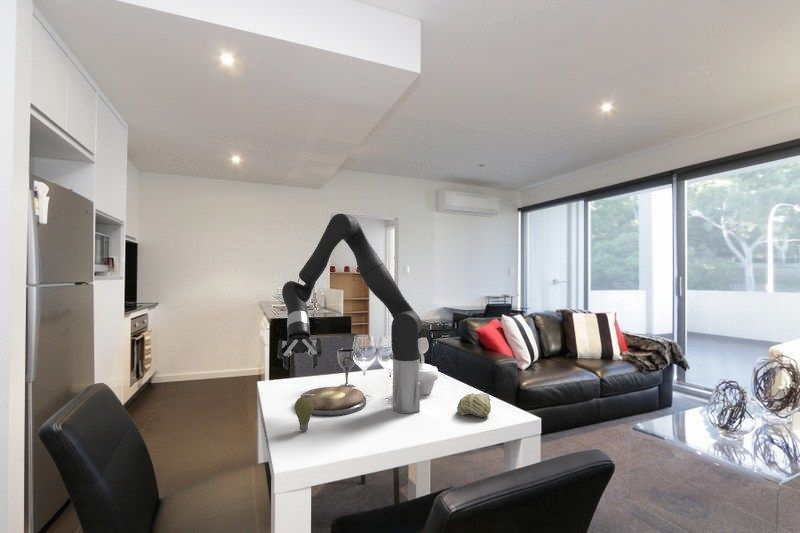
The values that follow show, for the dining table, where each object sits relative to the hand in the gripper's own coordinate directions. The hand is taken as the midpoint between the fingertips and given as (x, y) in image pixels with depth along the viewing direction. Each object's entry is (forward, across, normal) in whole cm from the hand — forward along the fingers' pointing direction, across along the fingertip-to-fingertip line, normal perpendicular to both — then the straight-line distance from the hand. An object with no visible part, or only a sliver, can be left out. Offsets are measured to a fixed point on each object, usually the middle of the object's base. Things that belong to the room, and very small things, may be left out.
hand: (300, 367), depth 122 cm
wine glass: (-9, +22, +32) cm, 40 cm away
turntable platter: (+3, +12, +17) cm, 21 cm away
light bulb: (+20, 0, +3) cm, 20 cm away
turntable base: (+5, +12, +18) cm, 22 cm away
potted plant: (+3, +48, +20) cm, 52 cm away
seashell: (+22, +55, 0) cm, 59 cm away
